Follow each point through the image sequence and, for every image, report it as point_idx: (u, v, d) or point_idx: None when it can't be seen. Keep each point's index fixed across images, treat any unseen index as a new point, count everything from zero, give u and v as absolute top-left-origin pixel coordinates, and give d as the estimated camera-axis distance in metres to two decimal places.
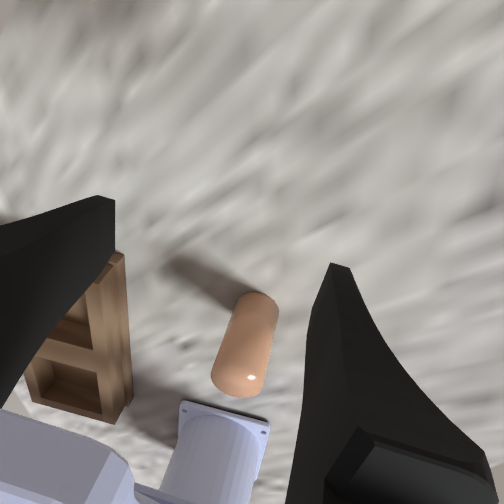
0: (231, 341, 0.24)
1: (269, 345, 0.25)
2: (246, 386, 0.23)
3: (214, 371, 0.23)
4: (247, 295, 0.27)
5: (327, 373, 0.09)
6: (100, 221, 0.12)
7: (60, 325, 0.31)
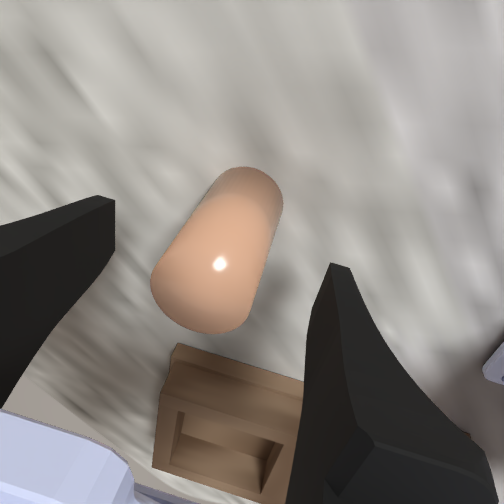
0: None
1: (212, 207, 0.13)
2: (213, 282, 0.11)
3: (185, 323, 0.12)
4: None
5: (327, 373, 0.09)
6: (100, 221, 0.12)
7: (273, 452, 0.23)
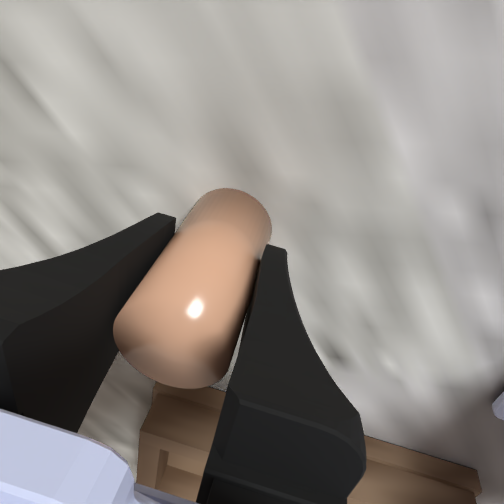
0: None
1: (187, 241, 0.11)
2: (185, 334, 0.10)
3: (156, 377, 0.11)
4: None
5: None
6: (164, 240, 0.12)
7: None
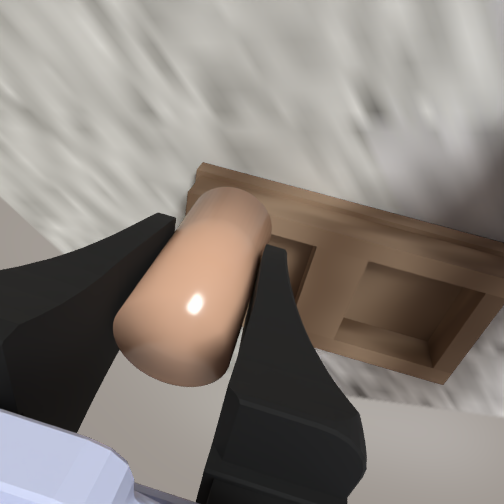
0: None
1: (186, 239, 0.11)
2: (186, 332, 0.10)
3: (157, 375, 0.11)
4: None
5: None
6: (164, 240, 0.12)
7: (301, 282, 0.22)
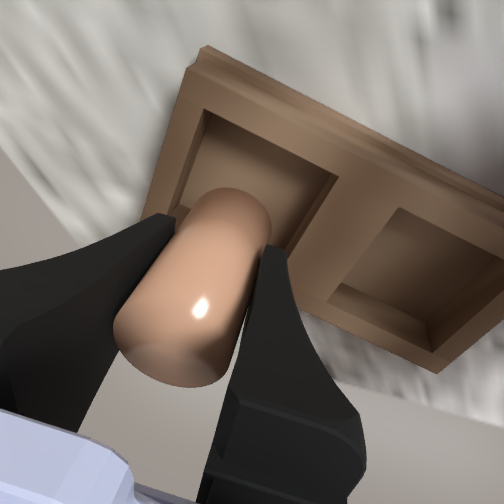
0: None
1: (186, 240, 0.11)
2: (185, 333, 0.10)
3: (157, 376, 0.11)
4: None
5: None
6: (164, 240, 0.12)
7: (301, 226, 0.18)
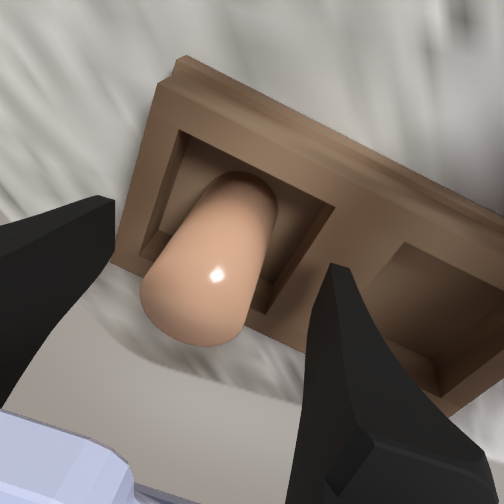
0: None
1: (204, 214, 0.12)
2: (206, 293, 0.11)
3: (178, 336, 0.12)
4: None
5: (327, 373, 0.09)
6: (100, 221, 0.12)
7: (293, 257, 0.16)
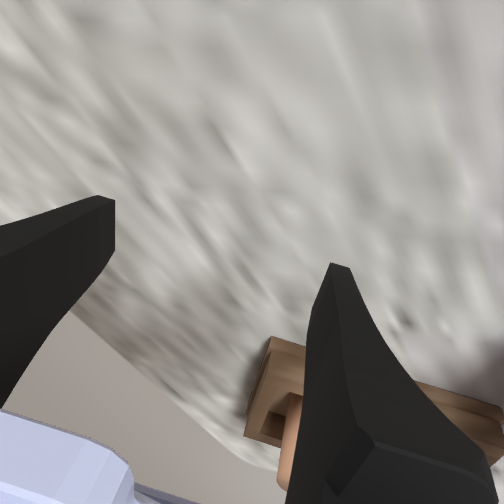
0: None
1: (296, 430, 0.26)
2: None
3: None
4: None
5: (327, 373, 0.09)
6: (100, 221, 0.12)
7: None
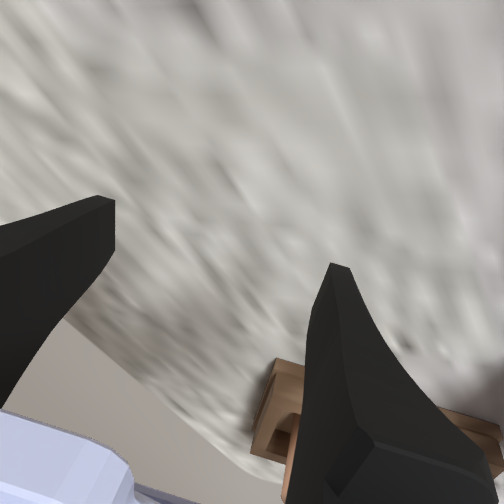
0: None
1: None
2: None
3: None
4: None
5: (327, 373, 0.09)
6: (100, 221, 0.12)
7: None
